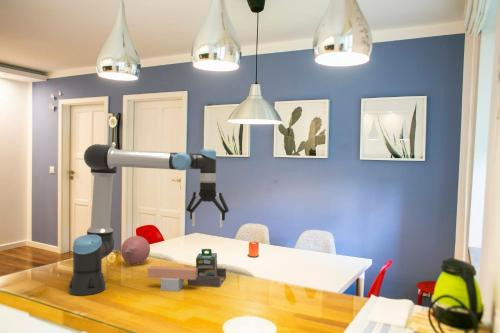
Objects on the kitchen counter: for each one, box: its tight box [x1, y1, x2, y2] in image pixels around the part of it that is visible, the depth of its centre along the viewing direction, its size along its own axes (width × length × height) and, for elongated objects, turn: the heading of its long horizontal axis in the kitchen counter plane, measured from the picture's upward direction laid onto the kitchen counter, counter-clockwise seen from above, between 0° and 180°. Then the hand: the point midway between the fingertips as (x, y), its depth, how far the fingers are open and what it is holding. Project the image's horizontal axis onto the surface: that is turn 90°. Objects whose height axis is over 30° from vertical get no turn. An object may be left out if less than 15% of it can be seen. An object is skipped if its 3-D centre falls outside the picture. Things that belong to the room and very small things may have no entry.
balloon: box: [120, 235, 151, 265], centre depth 215 cm, size 15×20×15 cm
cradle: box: [187, 267, 227, 288], centre depth 187 cm, size 14×15×4 cm
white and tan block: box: [160, 278, 185, 292], centre depth 177 cm, size 8×8×5 cm
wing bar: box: [147, 265, 198, 280], centre depth 177 cm, size 4×22×4 cm, turn 82°
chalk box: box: [195, 248, 218, 276], centre depth 187 cm, size 9×9×15 cm
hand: (207, 226), depth 187 cm, fingers open, 13 cm apart
